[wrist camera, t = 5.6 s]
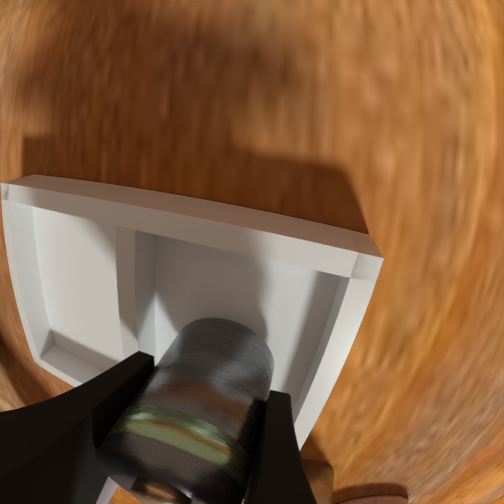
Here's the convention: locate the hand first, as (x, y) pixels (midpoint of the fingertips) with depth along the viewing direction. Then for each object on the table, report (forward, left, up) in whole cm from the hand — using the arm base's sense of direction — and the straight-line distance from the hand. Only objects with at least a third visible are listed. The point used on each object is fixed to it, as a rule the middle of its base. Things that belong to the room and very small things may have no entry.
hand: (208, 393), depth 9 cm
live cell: (0, 0, -2) cm, 2 cm away
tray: (-4, 0, -4) cm, 5 cm away
